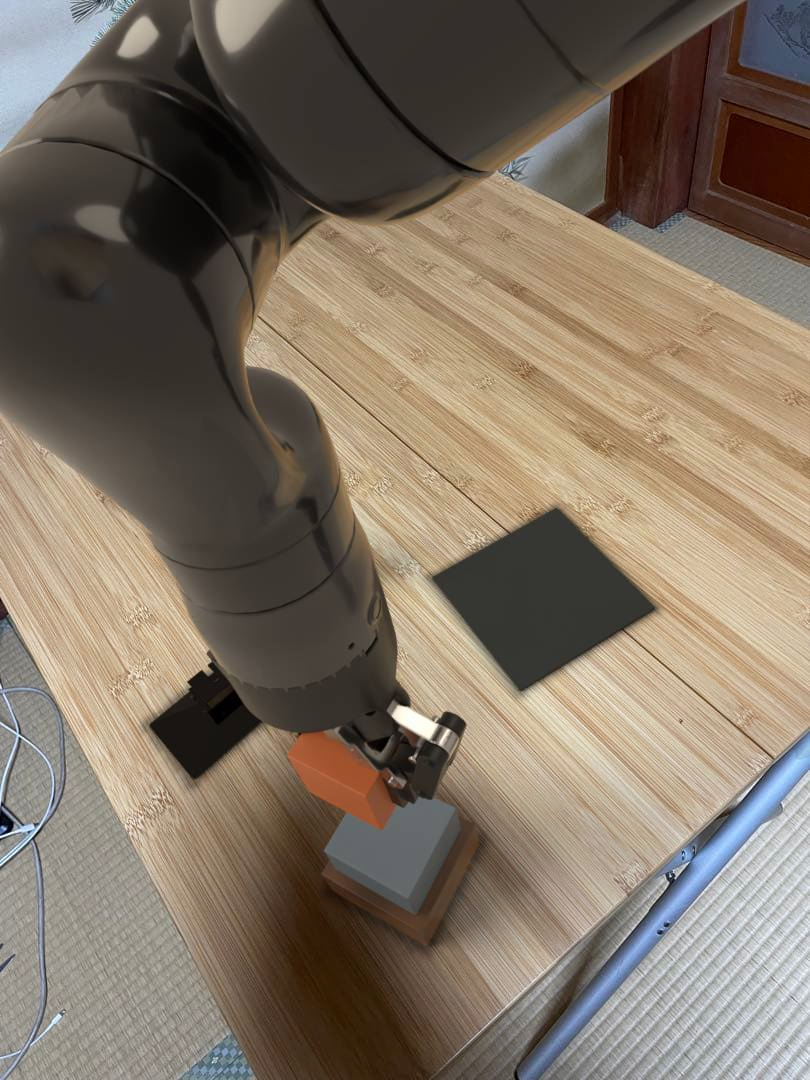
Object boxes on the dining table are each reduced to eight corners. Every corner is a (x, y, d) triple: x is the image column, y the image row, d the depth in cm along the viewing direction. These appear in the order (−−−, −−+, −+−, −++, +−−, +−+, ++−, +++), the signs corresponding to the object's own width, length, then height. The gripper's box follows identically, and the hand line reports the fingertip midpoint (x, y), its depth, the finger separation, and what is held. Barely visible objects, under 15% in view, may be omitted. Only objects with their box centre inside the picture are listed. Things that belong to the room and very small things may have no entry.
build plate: (263, 634, 76) (249, 606, 72) (313, 683, 72) (301, 655, 68) (149, 726, 71) (128, 701, 68) (196, 783, 67) (176, 759, 64)
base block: (479, 843, 61) (476, 824, 58) (427, 947, 58) (420, 932, 54) (387, 795, 65) (379, 775, 62) (332, 890, 61) (320, 874, 58)
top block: (426, 754, 48) (414, 715, 44) (382, 831, 46) (365, 797, 42) (354, 719, 50) (336, 678, 46) (308, 791, 48) (286, 755, 44)
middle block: (461, 828, 58) (456, 807, 55) (416, 916, 55) (408, 899, 52) (382, 788, 61) (373, 766, 58) (335, 869, 58) (323, 850, 55)
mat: (654, 610, 72) (655, 607, 71) (520, 692, 69) (520, 690, 68) (556, 509, 80) (556, 507, 80) (432, 579, 77) (431, 576, 76)
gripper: (106, 612, 35) (229, 771, 49) (395, 754, 29) (445, 891, 43) (213, 489, 39) (301, 668, 52) (489, 593, 33) (509, 766, 46)
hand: (365, 768), depth 47 cm, fingers closed on top block, 5 cm apart
